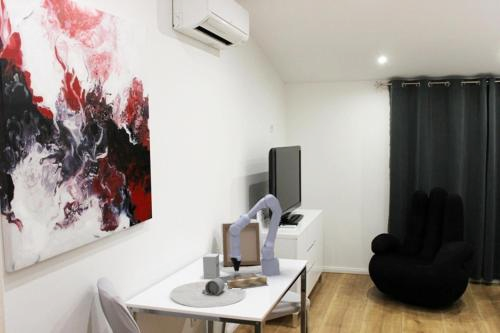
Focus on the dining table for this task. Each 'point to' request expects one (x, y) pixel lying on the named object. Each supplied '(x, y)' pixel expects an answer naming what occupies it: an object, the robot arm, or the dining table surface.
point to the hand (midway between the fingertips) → (236, 271)
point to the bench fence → (247, 282)
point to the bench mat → (227, 278)
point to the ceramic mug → (214, 286)
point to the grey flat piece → (241, 276)
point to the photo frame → (243, 245)
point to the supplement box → (211, 266)
